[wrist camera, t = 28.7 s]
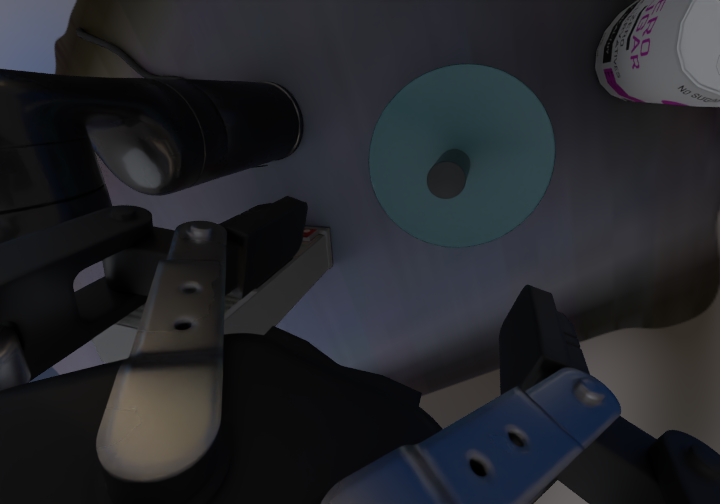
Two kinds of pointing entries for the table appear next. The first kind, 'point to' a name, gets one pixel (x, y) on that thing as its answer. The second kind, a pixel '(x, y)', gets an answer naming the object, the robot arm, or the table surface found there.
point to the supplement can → (663, 53)
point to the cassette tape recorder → (253, 309)
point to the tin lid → (462, 155)
